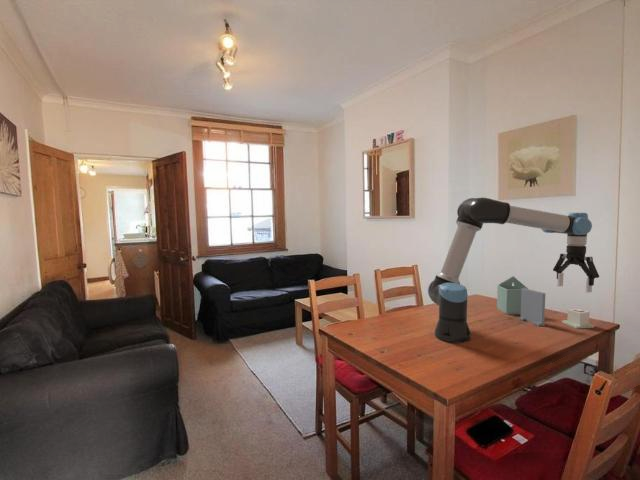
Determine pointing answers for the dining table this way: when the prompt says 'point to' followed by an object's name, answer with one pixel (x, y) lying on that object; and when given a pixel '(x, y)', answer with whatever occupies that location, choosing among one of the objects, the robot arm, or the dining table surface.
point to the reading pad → (578, 325)
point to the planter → (509, 296)
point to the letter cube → (578, 317)
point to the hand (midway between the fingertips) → (573, 289)
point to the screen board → (532, 306)
